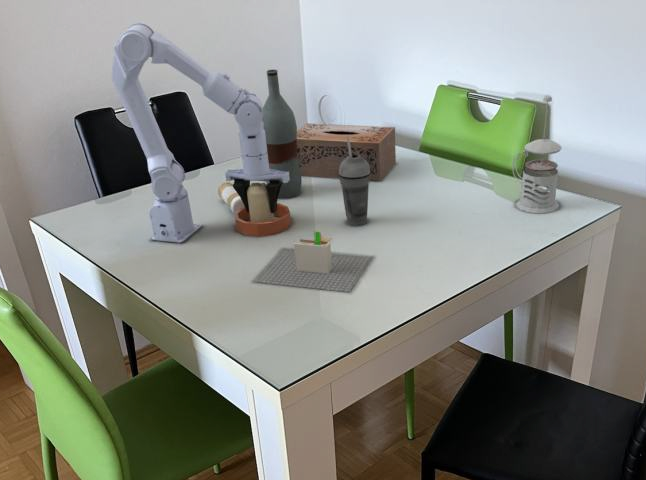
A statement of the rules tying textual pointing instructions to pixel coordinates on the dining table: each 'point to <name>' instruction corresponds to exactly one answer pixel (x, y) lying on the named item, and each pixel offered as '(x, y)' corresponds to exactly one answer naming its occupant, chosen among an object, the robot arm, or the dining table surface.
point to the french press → (539, 197)
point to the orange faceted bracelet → (263, 227)
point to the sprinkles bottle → (230, 197)
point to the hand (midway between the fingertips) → (261, 210)
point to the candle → (259, 203)
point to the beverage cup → (355, 187)
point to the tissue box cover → (344, 148)
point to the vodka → (281, 138)
